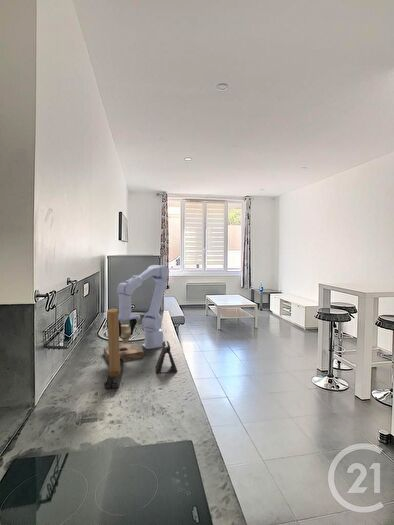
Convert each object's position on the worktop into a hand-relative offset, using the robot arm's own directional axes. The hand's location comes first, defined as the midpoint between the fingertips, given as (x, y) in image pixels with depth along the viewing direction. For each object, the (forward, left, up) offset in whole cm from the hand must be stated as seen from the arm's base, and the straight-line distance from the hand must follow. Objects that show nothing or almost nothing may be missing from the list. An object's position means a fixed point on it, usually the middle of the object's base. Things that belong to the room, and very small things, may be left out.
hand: (125, 335), depth 146 cm
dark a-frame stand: (-11, +24, -11) cm, 29 cm away
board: (+1, -2, -10) cm, 11 cm away
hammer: (+11, +24, -11) cm, 29 cm away
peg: (0, 0, -3) cm, 3 cm away
